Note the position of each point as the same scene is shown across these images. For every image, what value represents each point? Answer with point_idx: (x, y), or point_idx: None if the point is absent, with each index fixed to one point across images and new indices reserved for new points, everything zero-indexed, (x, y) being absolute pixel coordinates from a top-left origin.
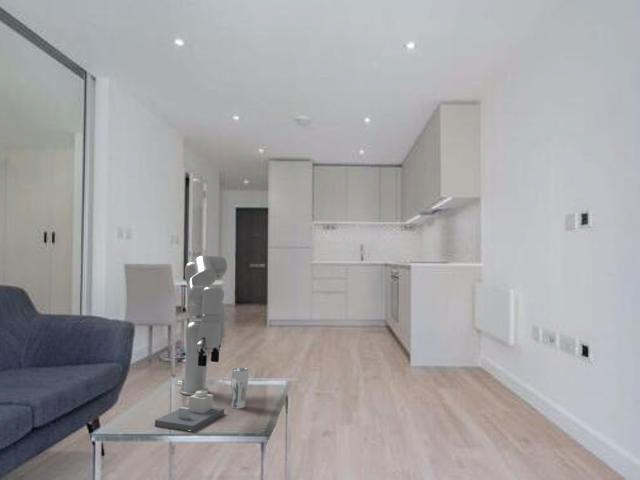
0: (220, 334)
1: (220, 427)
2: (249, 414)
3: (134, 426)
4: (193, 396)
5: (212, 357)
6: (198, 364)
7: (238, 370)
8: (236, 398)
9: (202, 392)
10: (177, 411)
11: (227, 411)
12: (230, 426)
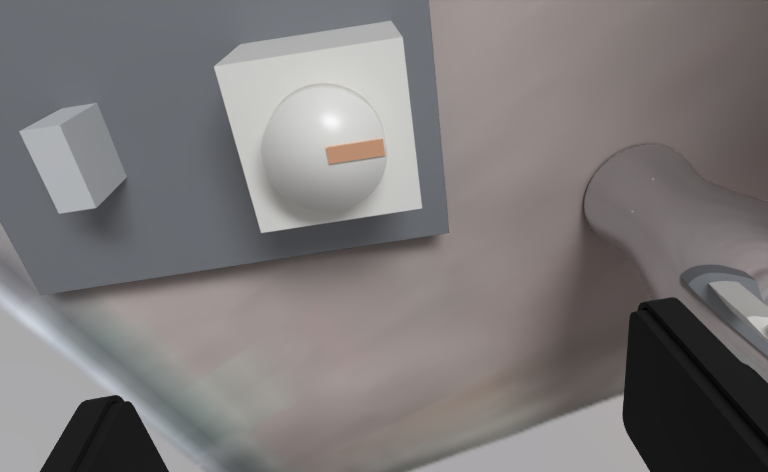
0: None
1: (227, 339)
2: (511, 330)
3: None
4: (255, 99)
5: (678, 397)
6: (81, 420)
7: None
8: (621, 239)
9: (314, 178)
10: None
11: (505, 198)
12: (275, 365)
